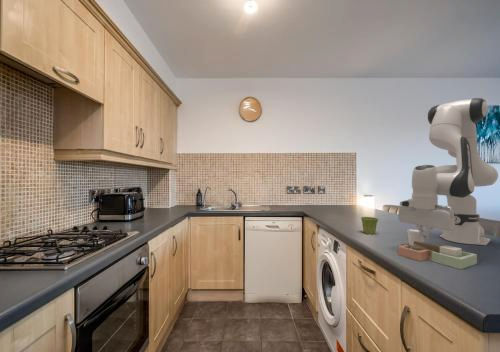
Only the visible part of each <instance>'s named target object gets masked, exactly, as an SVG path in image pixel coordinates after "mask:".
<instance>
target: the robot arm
mask: <svg viewBox="0 0 500 352" xmlns="http://www.w3.org/2000/svg"><path fill="white" fill-rule="evenodd" d="M488 109H489V107H488V104H487V101H486V100H485V99H484V98H482V97H481V98H480V97H475V98H472V99H460V100H455V101H451V102H446V103H442V104H438V105H437V104H436V105H434V106H432V107H431V108H430V109H429V110H428V112H427V121H428V123H429V124H430V129H429V133H428V134H429V135H428V138H429V139H428V140H429V142H430V143H431V144H432V145H433V146H435V147H436V148H438V149H441V150H445V151H447V153H448V155H449V156H450V157H453V158H455V159H456V164H444V165H439V166H435V165H434V164H432V165H431V164H423V165H418V166H415V167H414V168H413V170H412V176H411V188H412V194H411V198H408V199H407V200H401V201H399V206H400V207H399V208H398V214H397V216H398V220H399V222H400V223H405V224H411V225H416V230H419V232H420V236H424V238H430V233H431V232H432V231H433V229H438V230H442V234H439V238H443V239H444V240H446V241H450V242H453V243H459V244H465V245H466V244H467V245H479V246H487V245H489V243H490V242H491V238H487V237H485V229H484V228H483V226H482V225H481V224H480V222H479V219H480V218H481V217H480V214H477V199H476V198H475V197H474V196H473V195H471V194H473V192H475V188H477V187H480V188H481V187H487V186H488V187H489V186H492V185H494V184H495V183H496V182H497V180H498V178H499V173H498V170H497V169H496V168H495V167H494V166H492V165H491V164H489V163H487V162H485V161H484V159H482V157H481V155H480V154H479V151H478V150H479V149H478V141H477V140H478V136H477V135H478V131H477V126H476V125H477V124H478V123H479V122H480V121H482V120H483V119H485V118H486V116H487V113H488V111H489V110H488ZM438 196H445V197H446V201H447V205H446V206H445V205H440V204H439V203H438V202H439V201H438V200H439V198H438ZM423 227H425V229H426V231H425V230H424V229H423Z"/></svg>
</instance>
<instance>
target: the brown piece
mask: <svg viewBox="0 0 500 352" xmlns="http://www.w3.org/2000/svg"><path fill="white" fill-rule="evenodd" d="M403 245H408V246H409V249H411V245H409V244H407V243H401V245H400V246H403ZM440 247H441V246H439V245H434V244H430V243H429V244H428V243H425V242H423V243H421V242H417V241H414V246H413V250H417V251H421V250H428V259H427V260H430V261H431V260H432V252H437V253H440Z"/></svg>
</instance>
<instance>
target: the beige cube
mask: <svg viewBox="0 0 500 352" xmlns="http://www.w3.org/2000/svg"><path fill="white" fill-rule="evenodd" d="M406 232H407V234H406V235H407V240H408V241H407V242H408V244H407V245H410V247H411V246H412V247H414V241H417V242H421V243H424V239H425V237H424V236H420V232H419V230H418V229H417V228H416V229H415V228H412V229H411V228H408V229H406Z"/></svg>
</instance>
